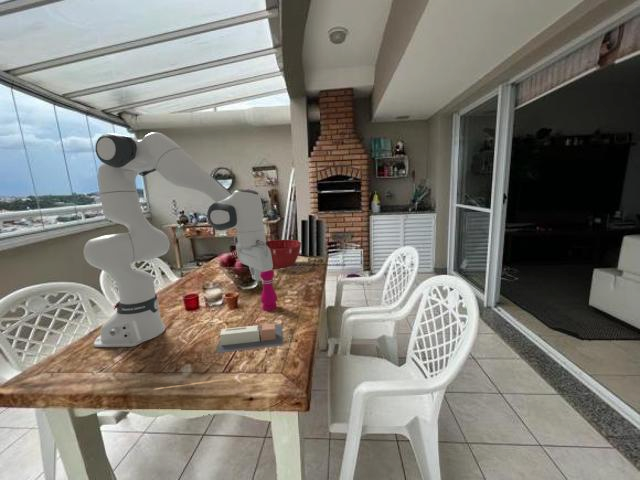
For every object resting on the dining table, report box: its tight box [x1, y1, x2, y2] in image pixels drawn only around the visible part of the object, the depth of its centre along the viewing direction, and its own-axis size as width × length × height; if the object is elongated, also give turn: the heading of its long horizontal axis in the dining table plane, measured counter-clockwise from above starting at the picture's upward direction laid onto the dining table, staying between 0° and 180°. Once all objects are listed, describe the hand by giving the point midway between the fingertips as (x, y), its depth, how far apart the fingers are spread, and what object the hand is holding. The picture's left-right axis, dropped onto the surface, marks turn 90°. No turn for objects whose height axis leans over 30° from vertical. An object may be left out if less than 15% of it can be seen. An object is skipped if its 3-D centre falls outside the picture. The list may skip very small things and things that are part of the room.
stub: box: [260, 323, 276, 341], centre depth 102 cm, size 5×4×4 cm
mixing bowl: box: [266, 239, 302, 270], centre depth 191 cm, size 28×28×16 cm
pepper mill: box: [260, 269, 278, 312], centre depth 125 cm, size 7×7×20 cm
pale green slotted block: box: [219, 324, 261, 346], centre depth 100 cm, size 13×4×4 cm, turn 99°
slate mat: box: [215, 324, 284, 354], centre depth 102 cm, size 22×15×1 cm
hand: (256, 279), depth 96 cm, fingers closed
